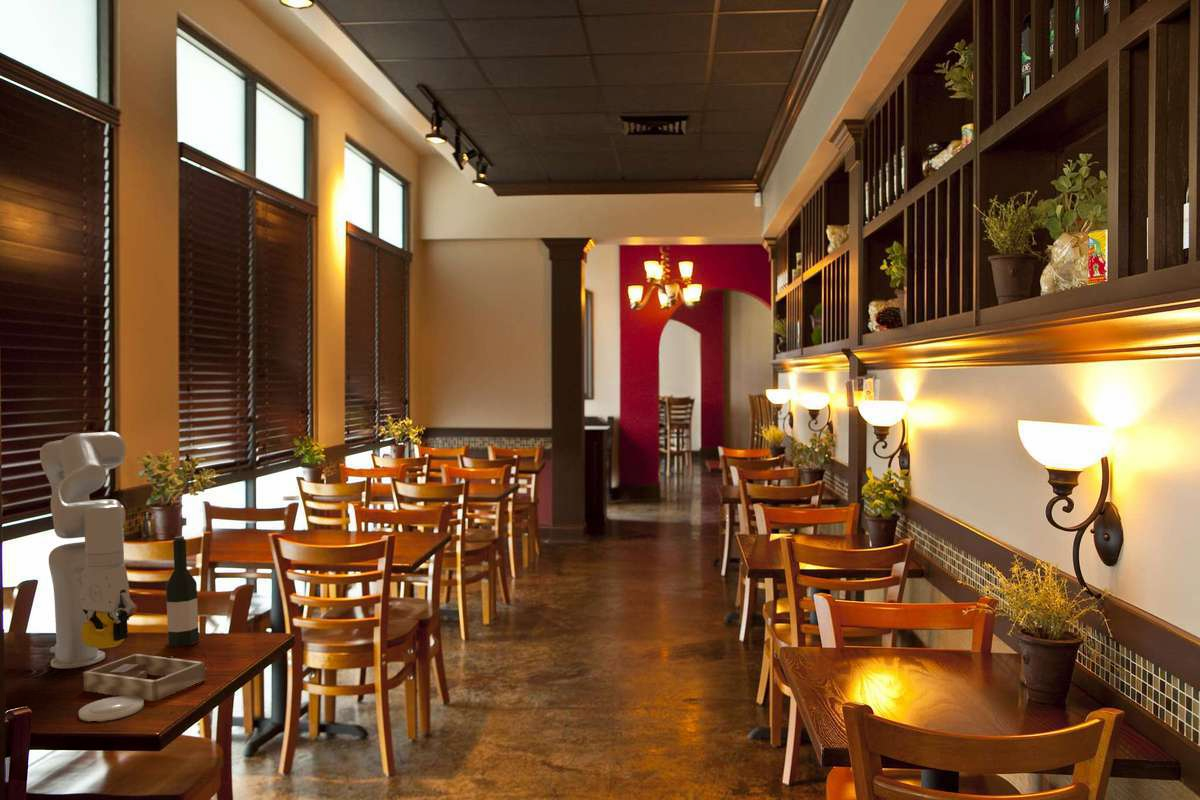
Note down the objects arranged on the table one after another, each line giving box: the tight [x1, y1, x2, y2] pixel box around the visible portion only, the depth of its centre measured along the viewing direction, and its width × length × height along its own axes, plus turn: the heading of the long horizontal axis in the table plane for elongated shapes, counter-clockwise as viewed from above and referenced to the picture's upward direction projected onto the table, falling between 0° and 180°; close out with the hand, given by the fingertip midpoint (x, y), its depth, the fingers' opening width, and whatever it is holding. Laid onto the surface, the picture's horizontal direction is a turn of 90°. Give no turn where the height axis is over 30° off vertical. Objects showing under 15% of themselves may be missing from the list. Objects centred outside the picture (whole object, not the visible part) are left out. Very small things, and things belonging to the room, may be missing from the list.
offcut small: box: [109, 664, 140, 677], centre depth 226 cm, size 4×6×2 cm, turn 171°
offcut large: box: [132, 671, 148, 679], centre depth 226 cm, size 5×9×2 cm, turn 161°
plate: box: [78, 696, 145, 722], centre depth 207 cm, size 13×13×1 cm
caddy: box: [82, 653, 206, 702], centre depth 224 cm, size 23×15×4 cm, turn 68°
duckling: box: [81, 603, 138, 649], centre depth 207 cm, size 11×5×10 cm, turn 121°
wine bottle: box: [165, 535, 200, 647], centre depth 259 cm, size 8×8×30 cm
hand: (108, 637), depth 207 cm, fingers closed on duckling, 6 cm apart
